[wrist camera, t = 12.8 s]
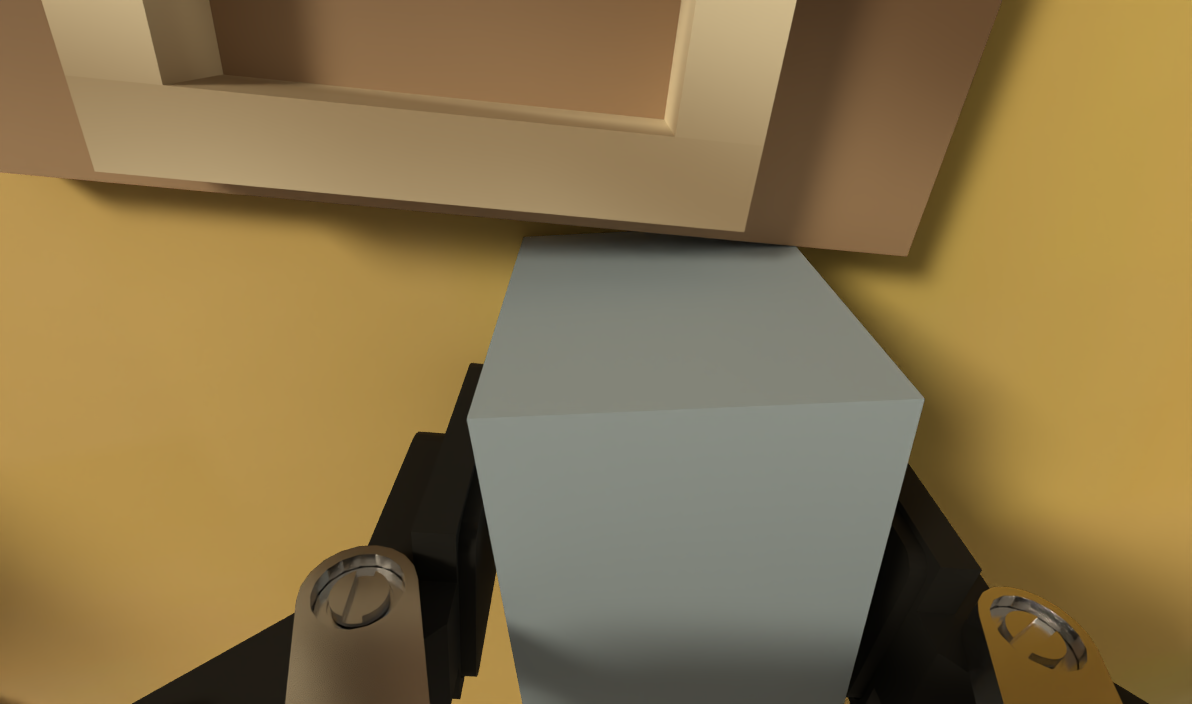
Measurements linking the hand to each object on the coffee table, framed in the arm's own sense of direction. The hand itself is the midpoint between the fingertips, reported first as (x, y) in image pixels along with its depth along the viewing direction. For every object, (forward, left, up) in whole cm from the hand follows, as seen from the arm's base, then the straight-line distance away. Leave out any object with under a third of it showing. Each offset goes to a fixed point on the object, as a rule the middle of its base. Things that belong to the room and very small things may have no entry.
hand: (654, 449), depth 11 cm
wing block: (0, 0, -1) cm, 1 cm away
